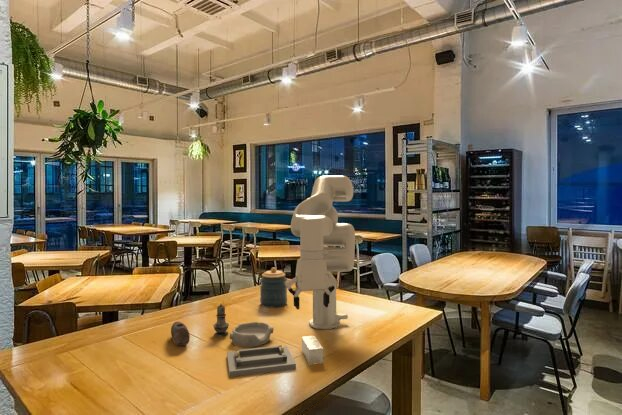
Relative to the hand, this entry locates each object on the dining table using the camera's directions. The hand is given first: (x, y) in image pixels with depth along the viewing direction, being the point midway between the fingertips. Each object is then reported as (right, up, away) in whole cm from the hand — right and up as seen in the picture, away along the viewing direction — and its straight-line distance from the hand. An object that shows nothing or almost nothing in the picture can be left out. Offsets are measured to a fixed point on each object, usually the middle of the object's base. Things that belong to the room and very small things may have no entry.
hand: (311, 307), depth 128 cm
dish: (-22, -16, +14) cm, 31 cm away
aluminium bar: (0, -17, +1) cm, 17 cm away
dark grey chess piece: (-34, -16, +20) cm, 43 cm away
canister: (-18, -14, +60) cm, 64 cm away
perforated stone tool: (-48, -16, +14) cm, 52 cm away
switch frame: (-16, -17, -4) cm, 24 cm away
